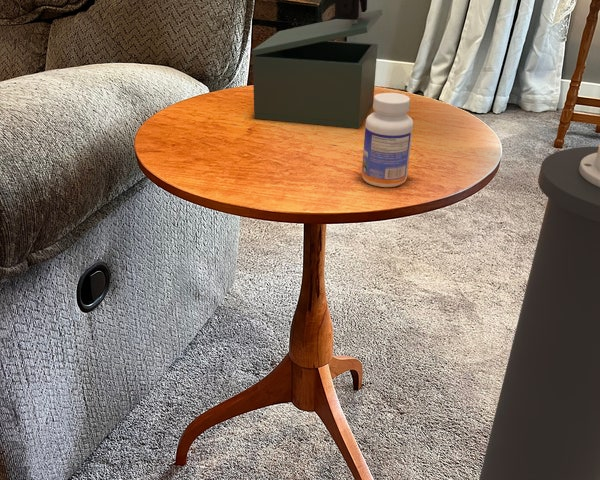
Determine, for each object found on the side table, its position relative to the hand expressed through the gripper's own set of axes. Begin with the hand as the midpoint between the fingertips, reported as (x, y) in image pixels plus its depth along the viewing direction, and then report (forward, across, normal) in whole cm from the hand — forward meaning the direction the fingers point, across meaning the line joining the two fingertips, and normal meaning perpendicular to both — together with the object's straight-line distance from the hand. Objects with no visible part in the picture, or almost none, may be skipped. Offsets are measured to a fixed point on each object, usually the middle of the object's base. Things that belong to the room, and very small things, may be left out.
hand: (351, 13), depth 90 cm
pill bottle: (+15, -24, -9) cm, 29 cm away
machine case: (+14, 0, +5) cm, 15 cm away
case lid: (+3, 0, +4) cm, 5 cm away
